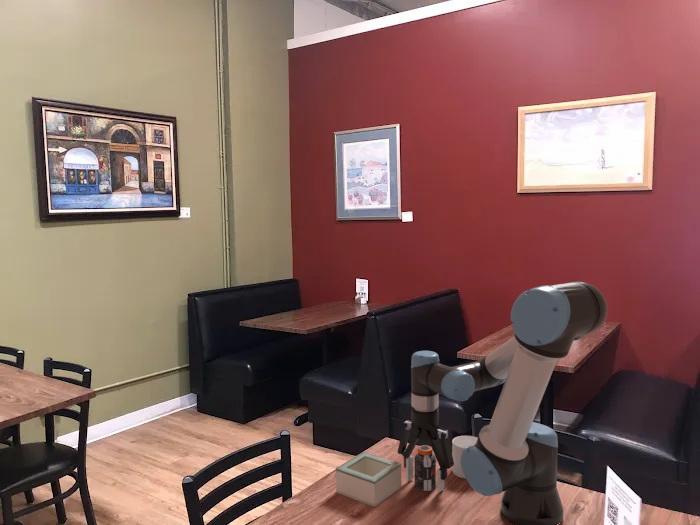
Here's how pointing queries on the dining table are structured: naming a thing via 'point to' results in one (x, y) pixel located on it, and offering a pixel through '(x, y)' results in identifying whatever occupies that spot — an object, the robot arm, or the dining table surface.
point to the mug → (460, 452)
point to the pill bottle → (425, 469)
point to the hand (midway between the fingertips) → (425, 484)
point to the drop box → (368, 478)
